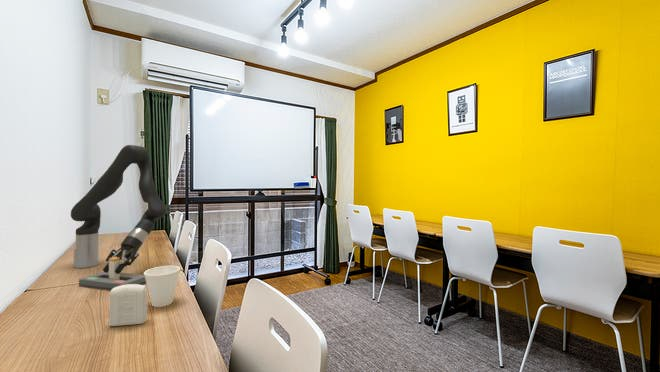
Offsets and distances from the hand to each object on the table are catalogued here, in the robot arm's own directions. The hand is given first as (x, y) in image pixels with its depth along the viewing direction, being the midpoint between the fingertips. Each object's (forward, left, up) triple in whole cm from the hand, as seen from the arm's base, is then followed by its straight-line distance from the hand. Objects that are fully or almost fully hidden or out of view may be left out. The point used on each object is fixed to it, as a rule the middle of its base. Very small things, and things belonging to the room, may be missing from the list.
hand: (110, 272), depth 126 cm
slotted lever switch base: (+1, +1, -6) cm, 6 cm away
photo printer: (+21, -40, -6) cm, 45 cm away
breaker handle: (+1, +1, -4) cm, 5 cm away
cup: (+27, -26, -6) cm, 38 cm away
